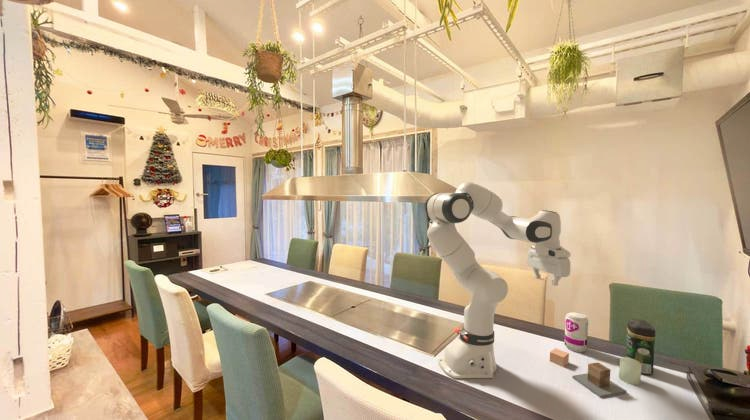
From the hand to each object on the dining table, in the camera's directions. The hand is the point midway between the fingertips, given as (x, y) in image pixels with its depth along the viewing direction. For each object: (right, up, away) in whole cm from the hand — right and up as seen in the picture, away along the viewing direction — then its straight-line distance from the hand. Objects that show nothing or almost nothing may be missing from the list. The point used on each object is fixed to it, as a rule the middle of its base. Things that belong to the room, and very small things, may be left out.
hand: (545, 281), depth 127 cm
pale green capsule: (+21, -32, -16) cm, 42 cm away
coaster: (+8, -32, -19) cm, 38 cm away
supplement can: (+16, -31, +6) cm, 35 cm away
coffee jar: (+31, -32, -9) cm, 45 cm away
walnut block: (+8, -31, -19) cm, 38 cm away
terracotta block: (+3, -32, -5) cm, 32 cm away
